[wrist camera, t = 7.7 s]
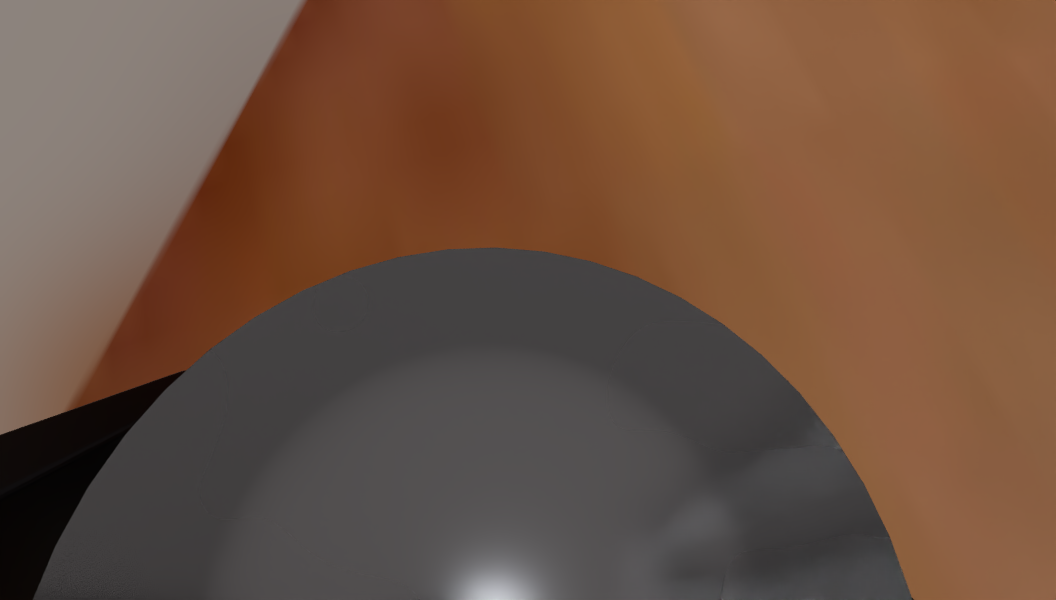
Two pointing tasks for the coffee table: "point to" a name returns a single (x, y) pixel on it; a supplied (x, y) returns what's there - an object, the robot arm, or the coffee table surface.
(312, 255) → the coffee table surface
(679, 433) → the standoff
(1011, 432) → the coffee table surface
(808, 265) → the coffee table surface
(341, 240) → the coffee table surface
